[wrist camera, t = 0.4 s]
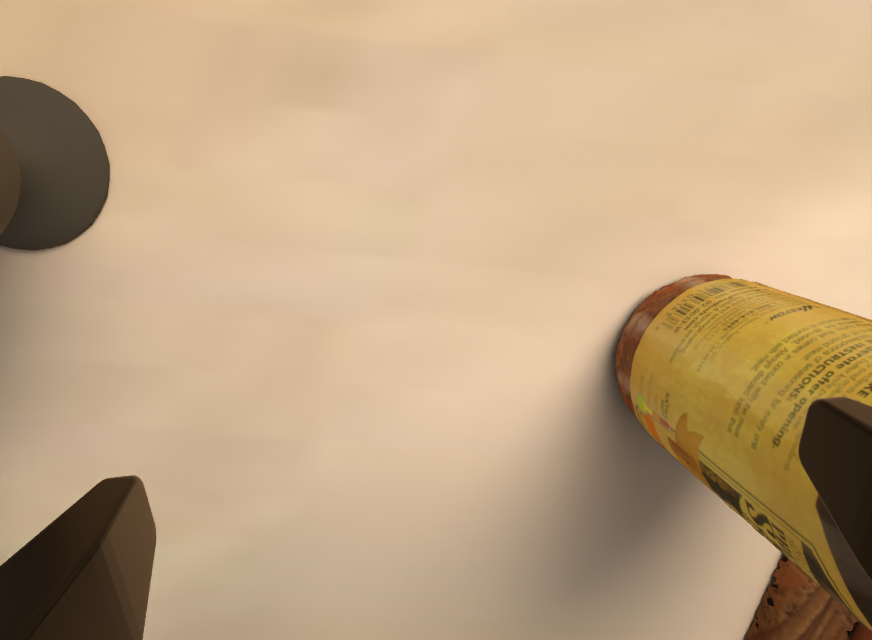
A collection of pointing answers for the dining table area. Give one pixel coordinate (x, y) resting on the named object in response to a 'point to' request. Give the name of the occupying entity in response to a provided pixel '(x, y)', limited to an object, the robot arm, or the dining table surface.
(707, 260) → the dining table surface
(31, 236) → the sundae
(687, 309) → the sauce bottle
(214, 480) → the dining table surface
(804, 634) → the bird sculpture
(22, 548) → the robot arm
